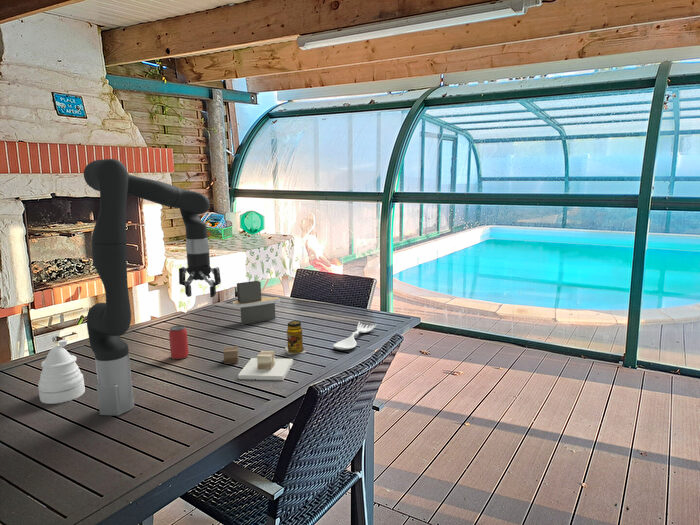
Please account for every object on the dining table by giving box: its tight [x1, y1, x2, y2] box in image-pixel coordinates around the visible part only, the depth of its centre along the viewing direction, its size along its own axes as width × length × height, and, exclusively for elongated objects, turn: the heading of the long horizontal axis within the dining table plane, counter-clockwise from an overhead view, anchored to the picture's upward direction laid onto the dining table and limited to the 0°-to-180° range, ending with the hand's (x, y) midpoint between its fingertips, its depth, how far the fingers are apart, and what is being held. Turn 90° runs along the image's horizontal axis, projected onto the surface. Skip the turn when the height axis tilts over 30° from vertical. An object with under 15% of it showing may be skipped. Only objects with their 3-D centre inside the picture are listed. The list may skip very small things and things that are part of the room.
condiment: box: [284, 320, 307, 356], centre depth 197 cm, size 7×8×12 cm
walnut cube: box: [223, 345, 240, 365], centre depth 187 cm, size 5×5×5 cm
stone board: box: [237, 357, 294, 381], centre depth 178 cm, size 16×16×2 cm
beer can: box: [168, 325, 190, 360], centre depth 192 cm, size 7×7×12 cm
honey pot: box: [37, 339, 86, 405], centre depth 160 cm, size 13×13×18 cm
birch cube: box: [256, 350, 276, 370], centre depth 178 cm, size 5×5×5 cm
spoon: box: [332, 321, 377, 351], centre depth 209 cm, size 9×32×4 cm, turn 157°
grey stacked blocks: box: [232, 280, 281, 326], centre depth 237 cm, size 38×25×20 cm, turn 121°
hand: (201, 296), depth 174 cm, fingers open, 8 cm apart
